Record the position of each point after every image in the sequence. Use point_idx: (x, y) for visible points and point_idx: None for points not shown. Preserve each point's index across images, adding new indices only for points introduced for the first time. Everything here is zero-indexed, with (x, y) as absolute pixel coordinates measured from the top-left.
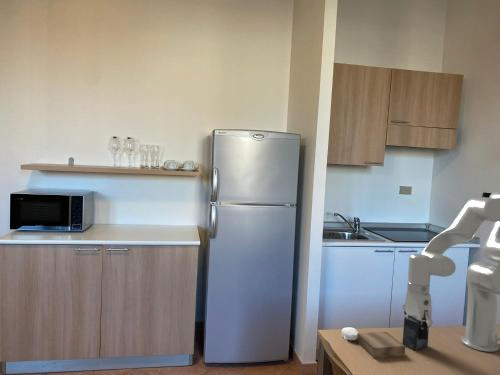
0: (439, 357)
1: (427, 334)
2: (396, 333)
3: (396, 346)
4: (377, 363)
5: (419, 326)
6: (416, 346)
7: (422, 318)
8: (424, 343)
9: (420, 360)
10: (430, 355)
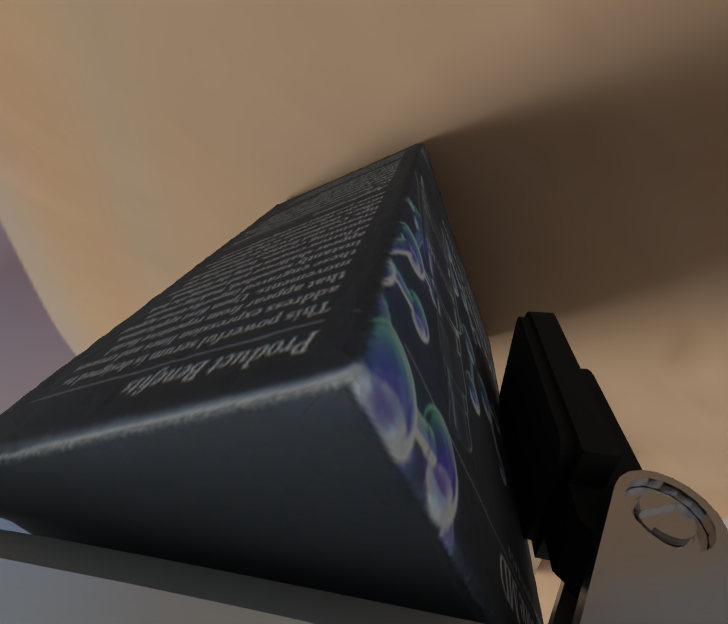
0: (717, 191)
1: (429, 211)
2: (137, 280)
3: (535, 568)
4: (553, 580)
5: (529, 577)
6: (490, 356)
7: (322, 577)
8: (448, 228)
9: (649, 402)
10: (621, 263)
